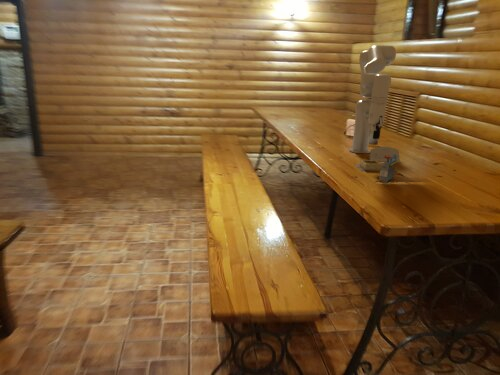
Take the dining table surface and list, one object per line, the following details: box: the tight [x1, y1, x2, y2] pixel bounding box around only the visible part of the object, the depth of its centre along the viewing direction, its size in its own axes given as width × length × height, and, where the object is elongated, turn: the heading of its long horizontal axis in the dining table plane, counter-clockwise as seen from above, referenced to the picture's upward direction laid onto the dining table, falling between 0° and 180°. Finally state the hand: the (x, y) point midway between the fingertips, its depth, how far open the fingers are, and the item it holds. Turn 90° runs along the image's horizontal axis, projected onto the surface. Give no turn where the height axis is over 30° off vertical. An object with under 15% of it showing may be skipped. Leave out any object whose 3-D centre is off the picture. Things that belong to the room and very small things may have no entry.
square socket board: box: [359, 155, 393, 171], centre depth 196 cm, size 8×16×7 cm, turn 93°
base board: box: [353, 163, 397, 173], centre depth 198 cm, size 14×18×1 cm
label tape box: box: [378, 155, 397, 184], centre depth 180 cm, size 9×4×12 cm, turn 141°
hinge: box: [368, 146, 401, 163], centre depth 214 cm, size 17×5×10 cm, turn 88°
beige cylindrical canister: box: [368, 123, 379, 146], centre depth 191 cm, size 4×4×11 cm
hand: (374, 137), depth 192 cm, fingers closed on beige cylindrical canister, 4 cm apart
